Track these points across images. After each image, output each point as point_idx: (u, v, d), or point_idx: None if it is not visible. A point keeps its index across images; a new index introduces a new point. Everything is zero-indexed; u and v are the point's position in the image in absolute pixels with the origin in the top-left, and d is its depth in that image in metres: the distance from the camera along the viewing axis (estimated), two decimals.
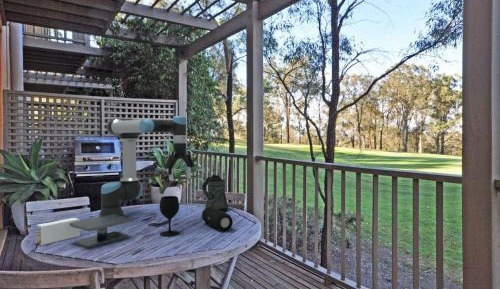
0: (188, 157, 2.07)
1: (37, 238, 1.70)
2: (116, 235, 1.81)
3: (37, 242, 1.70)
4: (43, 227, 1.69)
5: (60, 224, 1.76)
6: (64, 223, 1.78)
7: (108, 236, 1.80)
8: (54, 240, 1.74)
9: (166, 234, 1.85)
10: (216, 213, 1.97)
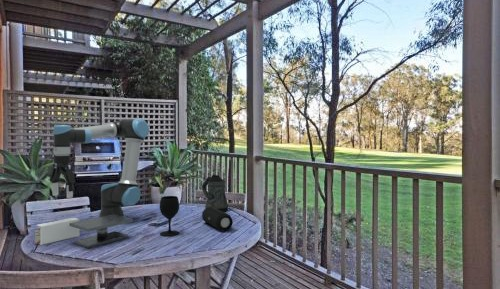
0: None
1: (37, 238, 1.71)
2: (116, 235, 1.81)
3: (36, 242, 1.71)
4: (42, 227, 1.70)
5: (59, 224, 1.76)
6: (63, 223, 1.78)
7: (108, 236, 1.80)
8: (53, 240, 1.74)
9: (166, 234, 1.85)
10: (216, 213, 1.97)
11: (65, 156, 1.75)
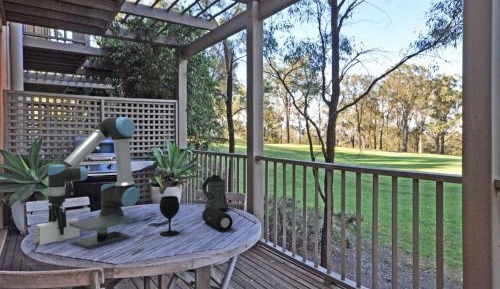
0: None
1: (37, 238, 1.71)
2: (116, 235, 1.81)
3: (36, 242, 1.71)
4: (42, 227, 1.70)
5: None
6: None
7: (108, 236, 1.80)
8: (53, 240, 1.74)
9: (166, 234, 1.85)
10: (216, 213, 1.97)
11: (59, 196, 1.75)
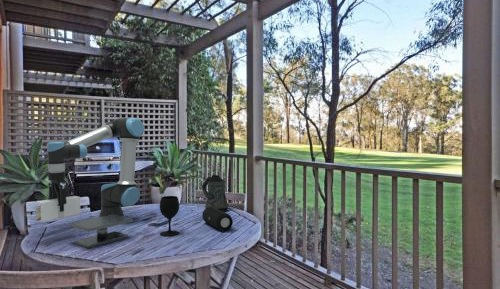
0: None
1: (38, 215, 1.71)
2: (116, 235, 1.81)
3: (37, 218, 1.71)
4: (43, 203, 1.69)
5: None
6: None
7: (108, 236, 1.80)
8: (54, 217, 1.74)
9: (166, 234, 1.85)
10: (216, 213, 1.97)
11: (59, 173, 1.75)
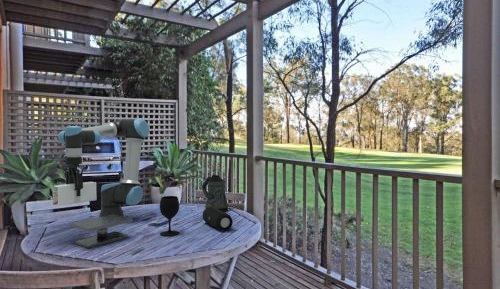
0: None
1: (54, 199, 1.70)
2: (116, 235, 1.81)
3: (54, 202, 1.70)
4: (60, 187, 1.69)
5: None
6: None
7: (108, 236, 1.80)
8: (71, 201, 1.73)
9: (166, 234, 1.85)
10: (216, 213, 1.97)
11: (76, 157, 1.74)
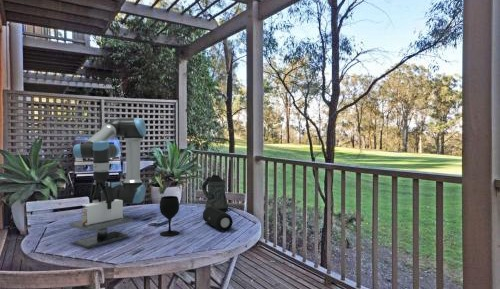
0: None
1: (83, 218, 1.70)
2: (116, 235, 1.81)
3: (83, 222, 1.70)
4: (89, 207, 1.69)
5: None
6: None
7: (108, 236, 1.80)
8: (99, 220, 1.73)
9: (166, 234, 1.85)
10: (216, 213, 1.97)
11: (104, 172, 1.74)
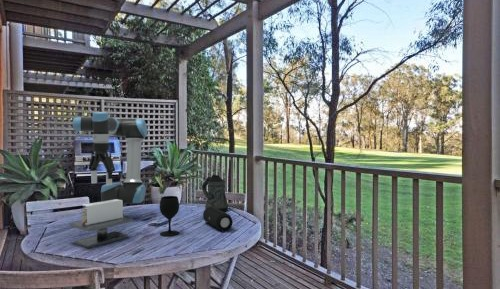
0: None
1: (83, 218, 1.70)
2: (116, 235, 1.81)
3: (83, 222, 1.70)
4: (89, 207, 1.69)
5: (105, 204, 1.75)
6: (108, 203, 1.77)
7: (108, 236, 1.80)
8: (99, 220, 1.73)
9: (166, 234, 1.85)
10: (216, 213, 1.97)
11: (104, 143, 1.74)
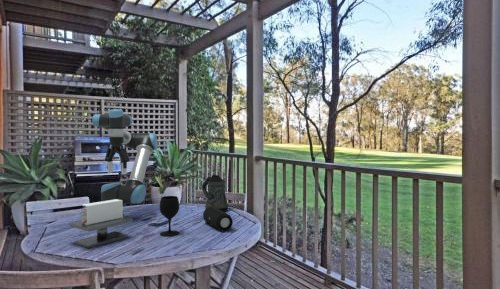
0: None
1: (83, 218, 1.70)
2: (116, 235, 1.81)
3: (83, 222, 1.70)
4: (89, 206, 1.69)
5: (104, 204, 1.75)
6: (108, 203, 1.77)
7: (108, 236, 1.80)
8: (99, 220, 1.73)
9: (166, 234, 1.85)
10: (216, 213, 1.98)
11: (119, 137, 1.96)
